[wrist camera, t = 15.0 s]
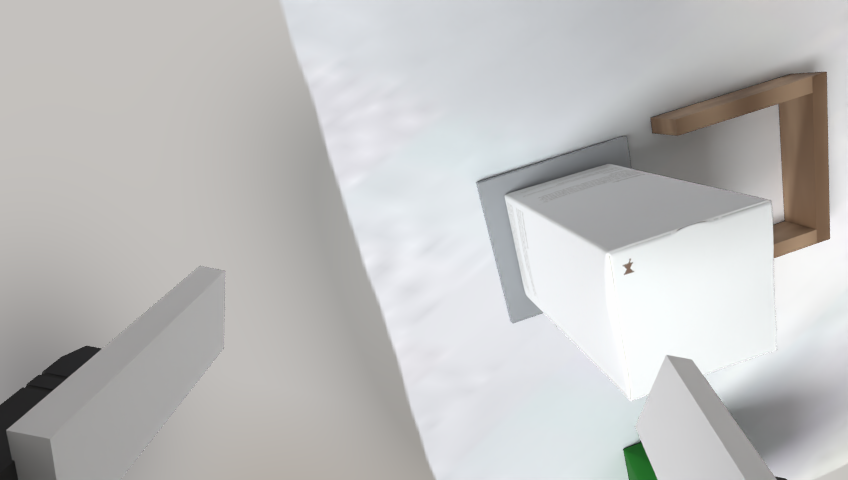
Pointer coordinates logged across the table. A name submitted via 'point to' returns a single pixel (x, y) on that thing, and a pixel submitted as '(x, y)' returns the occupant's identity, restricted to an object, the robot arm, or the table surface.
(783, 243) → the walnut cradle
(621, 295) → the supplement box
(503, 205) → the slate mat
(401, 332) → the table surface
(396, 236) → the table surface
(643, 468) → the milk carton
